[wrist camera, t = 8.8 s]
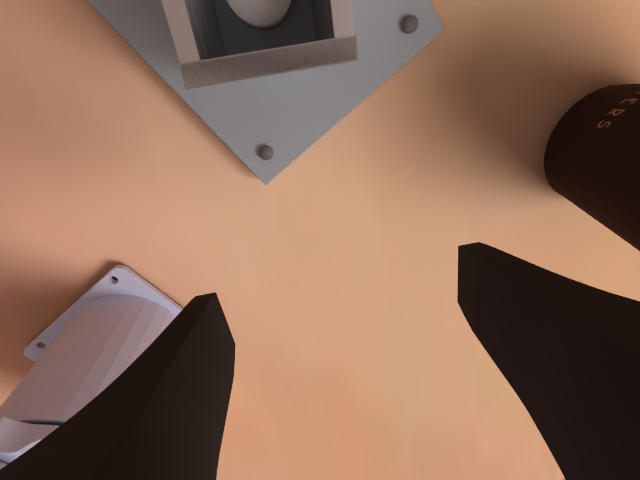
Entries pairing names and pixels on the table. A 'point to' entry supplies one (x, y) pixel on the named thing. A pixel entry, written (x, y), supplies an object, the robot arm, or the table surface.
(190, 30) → the elbow
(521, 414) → the table surface
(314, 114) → the panel
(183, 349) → the robot arm
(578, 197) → the coffee mug
